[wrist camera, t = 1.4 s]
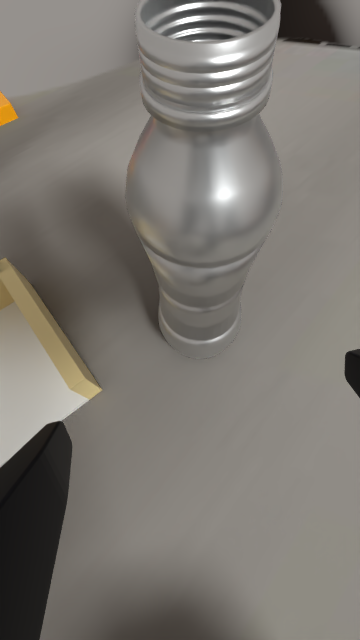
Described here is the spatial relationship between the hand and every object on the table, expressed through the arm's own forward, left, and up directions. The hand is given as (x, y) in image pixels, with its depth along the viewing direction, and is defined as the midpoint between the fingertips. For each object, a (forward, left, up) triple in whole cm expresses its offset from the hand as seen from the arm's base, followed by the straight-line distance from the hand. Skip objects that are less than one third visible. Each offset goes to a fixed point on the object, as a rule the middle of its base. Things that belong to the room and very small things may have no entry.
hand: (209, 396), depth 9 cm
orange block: (+37, -34, -15) cm, 52 cm away
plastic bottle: (+2, -8, -14) cm, 16 cm away
